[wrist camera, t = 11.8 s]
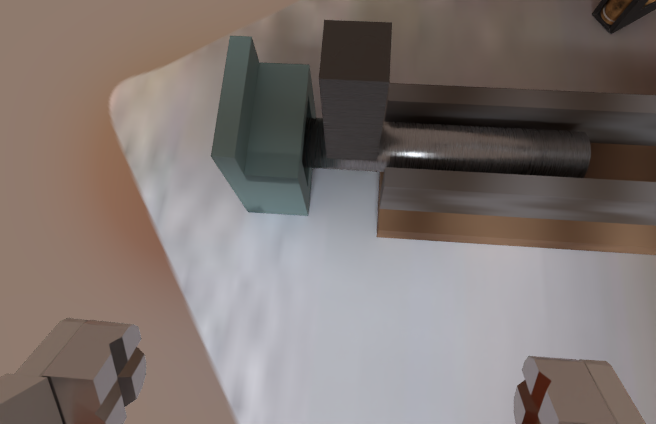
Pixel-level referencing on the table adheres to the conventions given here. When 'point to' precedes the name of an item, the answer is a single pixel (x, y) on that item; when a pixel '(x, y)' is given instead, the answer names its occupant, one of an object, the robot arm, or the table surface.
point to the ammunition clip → (621, 12)
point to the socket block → (264, 131)
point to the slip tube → (414, 138)
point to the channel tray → (529, 190)
